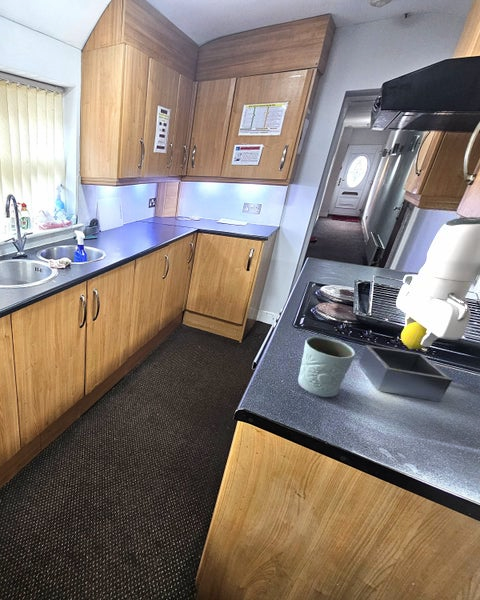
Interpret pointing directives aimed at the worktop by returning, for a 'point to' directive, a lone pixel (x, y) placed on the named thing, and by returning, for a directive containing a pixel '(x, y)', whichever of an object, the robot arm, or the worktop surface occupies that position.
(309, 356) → the pale green embossed cup
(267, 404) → the worktop surface
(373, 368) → the open grey rectangular container
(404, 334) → the lemon
